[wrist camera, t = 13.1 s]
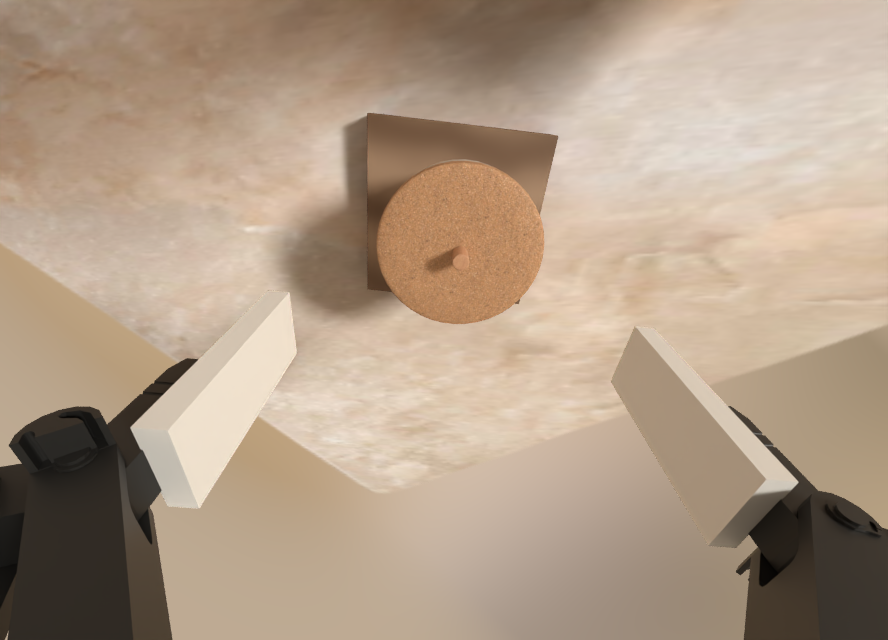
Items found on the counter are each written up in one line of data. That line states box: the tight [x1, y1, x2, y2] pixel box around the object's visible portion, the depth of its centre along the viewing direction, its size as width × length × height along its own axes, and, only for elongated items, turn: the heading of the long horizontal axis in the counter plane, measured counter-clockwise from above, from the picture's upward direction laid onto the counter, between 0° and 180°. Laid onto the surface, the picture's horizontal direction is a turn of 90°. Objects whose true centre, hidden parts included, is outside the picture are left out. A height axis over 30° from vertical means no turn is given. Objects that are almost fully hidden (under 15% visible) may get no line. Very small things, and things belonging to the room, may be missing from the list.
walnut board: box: [367, 113, 558, 304], centre depth 30 cm, size 14×14×2 cm
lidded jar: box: [376, 159, 544, 324], centre depth 26 cm, size 11×11×9 cm
